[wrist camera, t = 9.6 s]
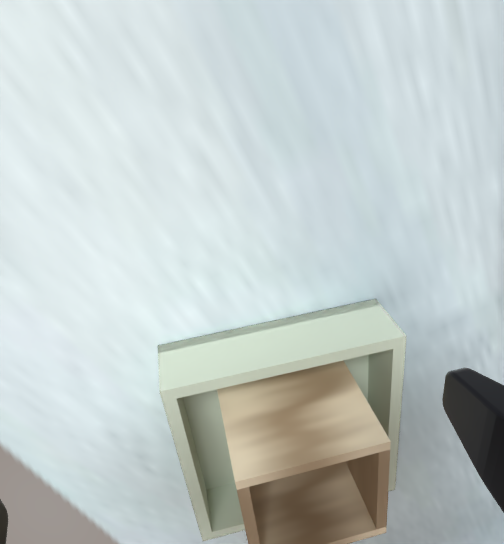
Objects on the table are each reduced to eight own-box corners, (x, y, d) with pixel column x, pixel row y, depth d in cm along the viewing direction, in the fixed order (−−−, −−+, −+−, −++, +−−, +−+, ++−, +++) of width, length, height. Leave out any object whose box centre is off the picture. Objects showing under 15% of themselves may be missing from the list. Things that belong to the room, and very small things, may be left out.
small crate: (337, 350, 24) (390, 441, 19) (340, 435, 27) (386, 532, 22) (214, 378, 23) (234, 482, 18) (232, 462, 26) (254, 570, 21)
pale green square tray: (375, 298, 23) (406, 335, 21) (371, 445, 29) (395, 489, 26) (157, 345, 22) (159, 391, 19) (197, 489, 28) (202, 541, 25)
